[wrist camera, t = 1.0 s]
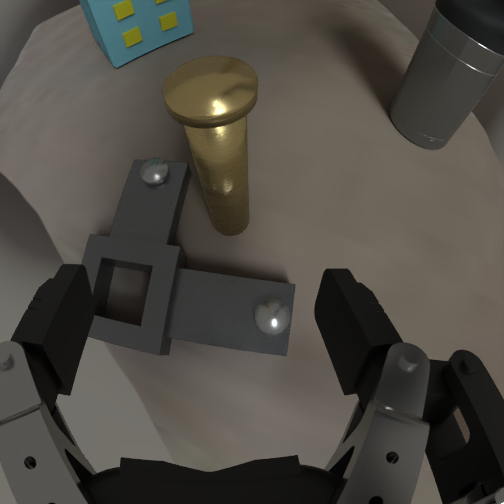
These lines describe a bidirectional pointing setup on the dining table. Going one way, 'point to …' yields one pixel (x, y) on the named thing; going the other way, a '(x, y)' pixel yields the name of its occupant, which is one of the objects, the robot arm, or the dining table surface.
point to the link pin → (217, 131)
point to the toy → (136, 25)
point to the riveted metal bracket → (178, 277)
